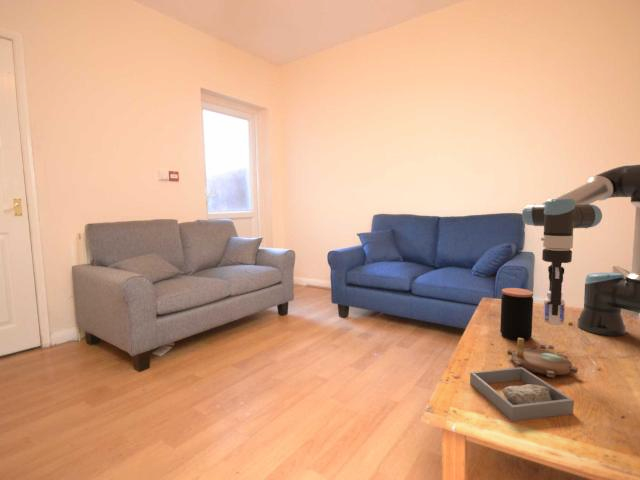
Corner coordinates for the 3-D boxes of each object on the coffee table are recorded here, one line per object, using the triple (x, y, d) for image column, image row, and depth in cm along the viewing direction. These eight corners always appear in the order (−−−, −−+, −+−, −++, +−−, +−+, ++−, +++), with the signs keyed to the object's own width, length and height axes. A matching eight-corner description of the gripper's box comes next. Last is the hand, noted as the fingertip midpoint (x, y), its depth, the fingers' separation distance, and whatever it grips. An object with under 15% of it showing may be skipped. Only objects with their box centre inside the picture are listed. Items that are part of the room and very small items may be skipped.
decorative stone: (542, 424, 82) (543, 404, 81) (496, 404, 90) (497, 385, 90) (560, 404, 89) (561, 386, 89) (516, 387, 98) (516, 370, 97)
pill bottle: (567, 326, 105) (569, 295, 104) (547, 325, 106) (549, 294, 105) (558, 320, 110) (560, 290, 109) (540, 319, 112) (541, 289, 110)
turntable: (503, 347, 120) (504, 327, 119) (560, 352, 115) (561, 332, 114) (517, 373, 102) (518, 350, 101) (585, 380, 97) (587, 356, 97)
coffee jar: (529, 333, 137) (531, 289, 135) (533, 343, 127) (535, 295, 125) (499, 329, 141) (500, 286, 139) (500, 339, 131) (502, 293, 129)
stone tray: (521, 378, 102) (522, 367, 102) (573, 413, 85) (573, 400, 85) (470, 383, 100) (470, 372, 100) (512, 421, 83) (512, 407, 82)
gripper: (541, 244, 116) (538, 311, 118) (543, 252, 100) (539, 328, 102) (569, 245, 112) (565, 315, 114) (575, 253, 96) (570, 333, 99)
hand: (553, 321), depth 108 cm, fingers closed on pill bottle, 5 cm apart
